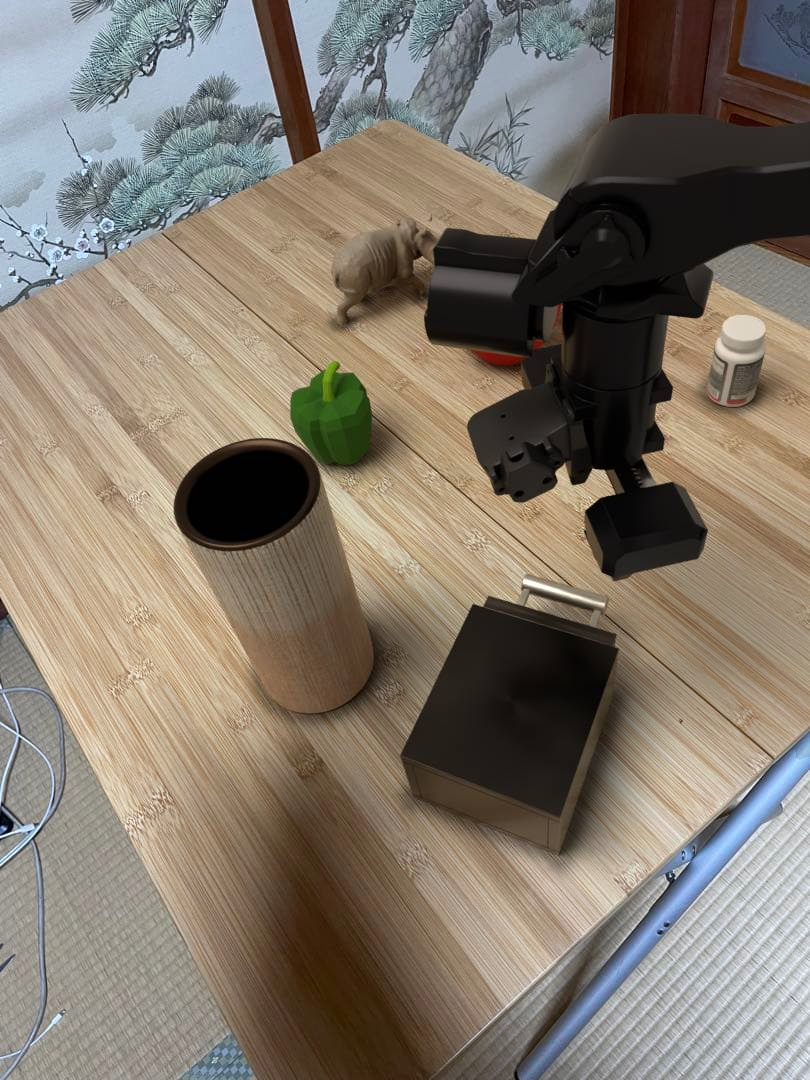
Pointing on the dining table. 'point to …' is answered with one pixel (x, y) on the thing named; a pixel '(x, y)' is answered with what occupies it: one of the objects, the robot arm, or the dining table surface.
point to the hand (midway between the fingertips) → (597, 528)
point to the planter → (278, 570)
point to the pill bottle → (737, 361)
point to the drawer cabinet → (512, 726)
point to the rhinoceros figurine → (380, 262)
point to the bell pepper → (333, 416)
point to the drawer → (563, 596)
